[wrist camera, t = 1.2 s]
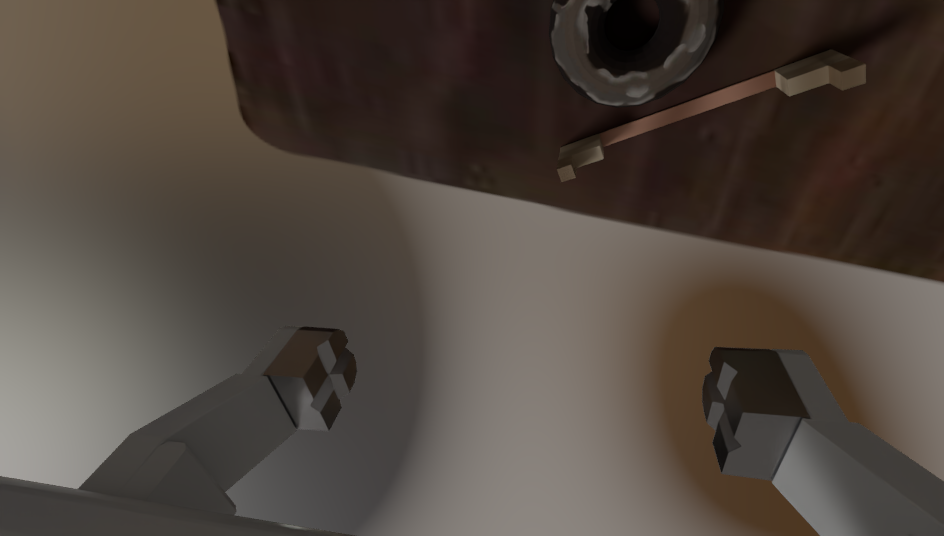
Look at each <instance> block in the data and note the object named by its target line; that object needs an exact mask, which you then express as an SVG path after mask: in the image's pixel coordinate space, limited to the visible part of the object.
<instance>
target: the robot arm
mask: <svg viewBox="0 0 944 536" xmlns="http://www.w3.org/2000/svg"><path fill="white" fill-rule="evenodd" d="M347 343H348V339H347V337H346V335H345V332H344V331H343V330H340V329H330V328H316V327H296V326H284V327H282V328H280V329H279V330H278V331H277V332H276V333H275V334H274V336H273V337H272V338H271V339H270V340H269V342H268V343H267V344H266V345H265V347H264V348H263V349H262V350H261V351H260V353H259V354H258V355H257V356H256V357H255V359H254V360H253V361H252V362H251V364H250V365H249V366H248V367H247V368H246V369H245V371H244V372H243V373H242V374H235V375H233V376H231V377H230V378H228V379H226V380H224V381H223V382H221V383H219V384H217V385H216V386H214V387H212V388H210V389H209V390H207V391H205V392H203V393H202V394H200V395H198V396H197V397H195V398H193V399H191V400H189V401H188V402H186V403H184V404H182V405H181V406H179V407H177V408H175V409H174V410H172V411H170V412H168V413H167V414H165V415H163V416H161V417H160V418H158V419H156V420H154V421H152V422H151V423H149V424H148V425H145V426H144V427H142V428H140V429H138V430H137V431H135V432H133V433H131V434H130V435H129V436H128V437H127V438H126V439H125V440H124V441H123V442H122V444H121V445H119V446H118V448H117V449H116V450H115V451H114V452H113V453H112V454H111V455H110V456H109V457H108V458H107V459H106V460H105V461H104V462H103V463H102V464H101V465H100V466H99V468H98V469H97V470H96V471H95V472H94V473H93V474H92V475H91V476H90V477H89V478H88V479H87V480H86V481H85V482H84V483H83V484H82V485H81V486H80V487H79V488H78V489H73V488H67V487H61V486H55V485H49V484H43V483H37V482H31V481H25V480H20V479H14V478H8V477H2V476H0V536H355V535H349V534H342V533H336V532H331V531H325V530H319V529H312V528H306V527H300V526H295V525H289V524H283V523H277V522H271V521H264V520H259V519H252V518H246V517H240V516H235V515H234V514H235V513H236V505H235V504H234V503H233V502H232V500H231V499H230V498H229V497H228V495H227V494H226V493H225V492H226V491H227V490H228V489H229V488H230V487H232V486H233V485H234V484H235V483H236V482H237V481H238V480H240V479H241V478H242V477H243V476H244V475H246V474H247V473H248V472H249V471H250V470H251V469H253V468H254V467H255V466H256V465H257V464H258V463H260V462H261V461H262V460H263V459H264V458H265V457H267V456H268V455H269V454H270V453H271V452H272V451H274V450H275V449H276V448H277V447H278V446H279V445H281V444H282V443H283V442H284V441H285V440H286V439H288V438H289V437H290V436H291V435H292V434H293V433H295V432H296V429H307V430H320V431H329V430H330V428H331V427H332V425H333V423H334V421H335V419H336V417H337V415H338V413H339V411H340V410H341V408H342V407H341V402H340V399H341V398H342V397H344V396H345V395H347V394H348V393H350V390H351V389H352V387H353V385H354V383H355V378H356V373H357V366H356V360H355V357H354V354H352V353H351V352H350V351H349V350H348V349H347V348H345V347H346V345H347ZM709 363H710V366H711V369H712V372H710V373H709V374H707V375H706V376H705V378H704V383H703V388H702V403H703V409H704V414H705V418H706V421H707V423H708V424H709V425H710V426H711V427H712V428H713V429H714V430H715V431H716V432H715V435H714V439H713V442H712V443H713V446H714V449H715V453H716V457H717V460H718V463H719V467H720V470H721V473H722V474H727V475H734V476H742V477H749V478H757V479H764V480H772V484H773V485H774V486H775V487H776V488H777V489H778V490H779V491H780V492H781V493H782V494H783V496H784V497H785V498H786V499H787V500H788V501H789V502H790V503H791V504H792V505H793V506H794V507H795V509H796V510H797V511H798V512H799V513H800V514H801V515H802V516H803V517H804V518H805V519H806V521H807V522H808V523H809V524H810V525H811V526H812V527H813V528H814V529H815V530H816V531H817V533H818V534H819V535H820V536H944V481H942V480H941V479H939V478H938V477H936V476H935V475H933V474H932V473H931V472H929V471H928V470H926V469H925V468H923V467H922V466H920V465H919V464H918V463H916V462H915V461H913V460H912V459H910V458H909V457H907V456H906V455H904V454H903V453H902V452H900V451H898V450H897V449H896V448H894V447H893V446H891V445H890V444H888V443H887V442H885V441H884V440H883V439H881V438H880V437H878V436H877V435H875V434H874V433H873V432H871V431H870V430H868V429H867V428H865V427H864V426H862V425H861V424H859V423H851V422H848V420H847V418H846V417H845V415H844V413H843V412H842V410H841V408H840V407H839V405H838V403H837V402H836V400H835V398H834V397H833V395H832V393H831V392H830V390H829V388H828V387H827V385H826V384H825V382H824V380H823V379H822V377H821V375H820V374H819V372H818V370H817V369H816V367H815V365H814V364H813V362H812V360H811V359H810V357H809V355H808V354H807V353H805V352H804V351H803V350H782V349H772V350H770V349H751V348H725V347H714V349H713V350H712V352H711V355H710V358H709Z"/></svg>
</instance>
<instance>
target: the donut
mask: <svg viewBox="0 0 944 536" xmlns="http://www.w3.org/2000/svg"><path fill="white" fill-rule="evenodd" d="M616 1H617V0H554V1H553V4H552V7H551V15H550V27H549V37H550V42H551V48H552V54H553V58H554V60H555V62H556V64H557V66H558V68H559V70H560V72H561V74H562V76H563V78H564V79H565V80H566V81H567V82H568V83H569V84H570V86H571V87H572V88H573V89H574V90H575V91H576V92H577V93H578V94H580V95H582V96H584V97H585V98H587V99H589V100H591V101H593V102H595V103H597V104H602V105H607V106H612V107H628V106H639V105H642V104H645V103H648V102H650V101H653V100H656V99H659V98H661V97H663V96H665V95H666V94H668V93H669V92H671V91H672V90H674V89H675V88H677V87H678V86H680V85H681V84H683V83H684V82H685V81H686V80H687V78H688V77H689V76H690V75H691V74H692V73H693V72H694V71H695V70H696V69H697V68H698V67H699V66H700V65H701V63H702V62H703V60H704V58H705V57H706V55H707V53H708V52H709V50H710V48H711V46H712V45H713V43H714V41H715V39H716V37H717V33H718V30H719V26H720V23H721V19H722V16H723V12H724V0H655V1H656V2H657V5H658V8H659V16H660V19H659V23H658V27H657V29H656V31H655V33H654V35H653V36H652V38H651V39H650V40H649V41H648V42H647V43H646V44H644V45H643V46H642V47H639V48H637V49H635V50H628V51H625V50H620V49H617V48H616V47H614V46H612V44H611V43H610V42H609V41H608V39H607V37H606V35H605V29H604V25H605V18H606V16H607V13H608V11H609V9H610V8H611V6H612V5H613V4H614V2H616Z"/></svg>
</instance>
